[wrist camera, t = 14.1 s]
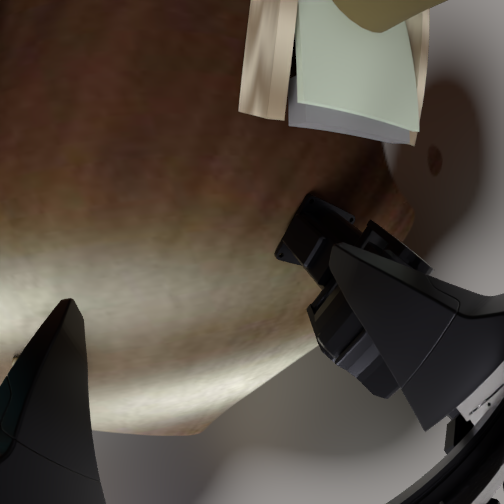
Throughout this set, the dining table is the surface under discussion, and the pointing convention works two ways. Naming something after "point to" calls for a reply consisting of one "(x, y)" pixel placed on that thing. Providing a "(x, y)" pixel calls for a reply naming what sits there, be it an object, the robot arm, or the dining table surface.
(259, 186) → the dining table surface
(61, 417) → the robot arm
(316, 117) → the light piece
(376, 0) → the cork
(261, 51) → the trapdoor frame
